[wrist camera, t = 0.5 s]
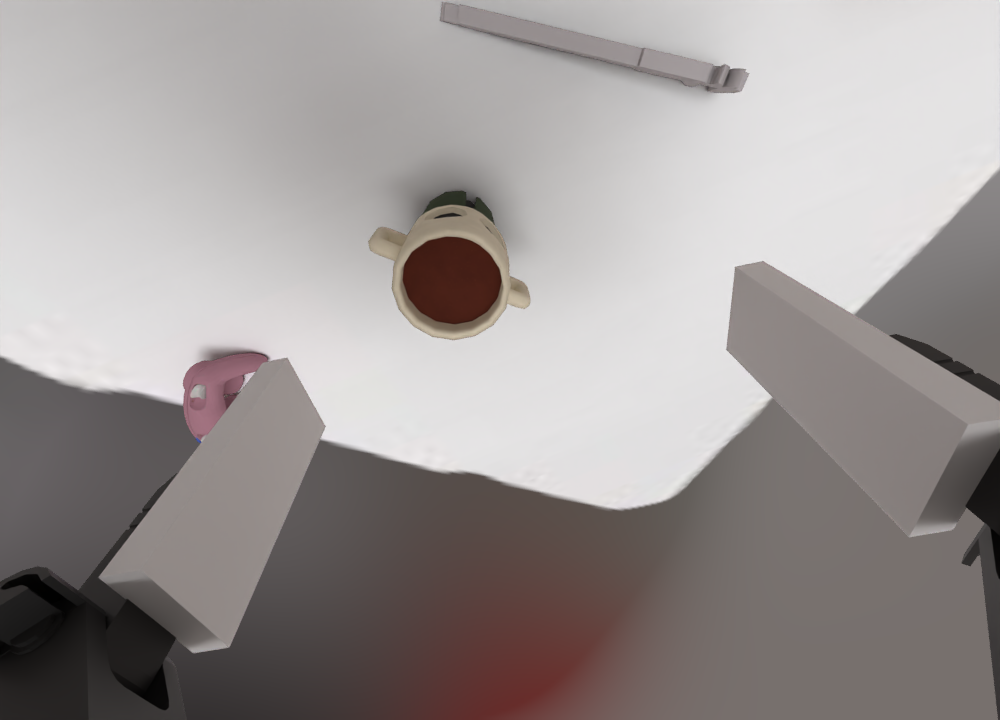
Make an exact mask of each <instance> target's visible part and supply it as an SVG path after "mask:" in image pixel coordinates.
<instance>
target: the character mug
mask: <svg viewBox="0 0 1000 720" xmlns="http://www.w3.org/2000/svg"><path fill="white" fill-rule="evenodd" d="M368 243H369V248H370V250H371V251H373V252H374V253H376V254H378V255H380V256H383V257H386V258H388V259H391V260H393V261H395V263H394V268H393V280H392V291H393V294H394V297H395V299H396V302H397V305H398V308H399V310H400V311H401V312H402V314H403V315H404V316H405V317H406V318H407V319H408V321H409V322H410V323H411V324H412V325H413V326H414V327H416V328H418V329H419V330H421V331H423V332H425V333H427V334H428V335H430V336H432V337H437V338H444V339H450V340H457V339H462V338H467V337H473V336H476V335H478V334H479V333H481V332H483V331H484V330H486V329H488V328H489V327H491V326H493V325H494V323H495V322H496V321H497V319H498V318H499V317H500V316H501V314H502V313H503V312H504V310H505V309H506V305H507V304H510V305H512V306H515V307H518V308H523V309H525V308H527V307H528V306H529V305H530V295H529V291H528V288H527V286H526V285H525V283H523V282H522V281H520V280H518V279H515V278H513V277H510V276H509V258H508V255H507V249H506V244H505V242H504V240H503V238H502V236H501V234H500V232H499V231H498V230H497V228H496V227H495V224H494V220H493V217H492V213H491V211H490V210H489V209H488V207H487V206H486V205H485V204H484V202H483V201H482V200H481V199H479V198H476V203H475V205H474V204H473V203H472V202H471V201H467V200H466V192H464V191H455V192H445V193H444V194H442V195H440V196H439V197H437V198H435V199H434V200H432V201H430V203H429V205H428V206H427V208H426V210H425V211H424V213H423V215H421V216H420V217H419V218H418V220H417V221H416V222H415V224H414V225H413V227H412V229H411V230H410V232H409V234H408V235H405V234H402V233H400V232H397V231H395V230H392V229H389V228H385V227H380V228H378V229H377V230H376V231H375V232H374V234H373V235H372V237H371V238H370V239H369V241H368Z"/></svg>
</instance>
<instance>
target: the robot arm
mask: <svg viewBox="0 0 1000 720" xmlns="http://www.w3.org/2000/svg"><path fill="white" fill-rule="evenodd" d="M726 350H727V351H728V352H729V353H730V354H731V355H732V356H733V357H734V358H735V359H736V360H737V361H738V362H739V363H740V364H741V365H742V366H743V367H744V368H745V369H746V370H747V371H748V372H749V373H750V374H751V375H752V376H753V377H754V378H755V379H756V381H757V382H758V383H759V384H760V385H761V386H762V387H763V388H764V389H765V390H766V391H767V392H768V393H769V394H770V395H771V396H772V397H773V398H774V399H775V400H776V401H777V402H778V403H779V404H780V405H781V406H782V407H783V408H784V409H785V410H786V411H787V412H788V413H789V414H790V415H791V416H792V417H793V418H794V419H795V421H796V422H797V423H798V424H799V425H800V426H801V427H802V428H803V429H804V430H805V431H806V432H807V433H808V434H809V435H810V436H811V437H812V438H813V439H814V440H815V441H816V442H817V443H818V444H819V445H820V446H821V447H822V448H823V449H824V450H825V451H826V452H827V453H828V454H829V455H830V456H831V457H832V458H833V460H834V461H835V462H836V463H837V464H838V465H839V466H840V467H841V468H842V469H843V470H844V471H845V472H846V473H847V474H848V475H849V476H850V477H851V478H852V479H853V480H854V481H855V482H856V483H857V484H858V485H859V486H860V487H861V488H862V489H863V490H864V491H865V492H866V493H867V494H868V495H869V496H870V497H871V499H872V500H873V501H875V503H876V504H877V505H878V506H879V507H880V508H881V509H882V510H883V511H884V512H885V513H886V514H887V515H888V516H889V517H890V518H891V519H892V520H893V521H894V522H895V523H896V524H897V525H898V526H899V527H900V528H901V529H902V530H903V531H904V532H905V533H906V534H907V535H908V536H909V537H913V536H919V535H925V534H931V533H937V532H943V531H949V530H953V529H954V527H955V526H956V524H957V522H958V521H959V519H960V517H961V516H962V514H963V512H964V511H965V509H966V508H968V509H969V510H970V511H971V512H972V513H974V514H975V515H976V516H977V517H978V518H980V519H981V520H982V521H983V522H984V523H985V524H984V525H983V527H982V528H981V530H980V531H979V533H978V534H977V536H976V537H975V539H974V540H973V542H972V543H971V545H970V546H969V548H968V549H967V551H966V552H965V554H964V557H963V560H962V564H965V565H968V566H971V564H972V563H973V561H974V560H975V559H976V557H977V556H979V555H980V557H981V566H982V576H983V585H984V594H985V603H986V611H987V621H988V630H989V639H990V649H991V658H992V667H993V676H994V686H995V694H996V704H997V712H998V720H1000V385H999V384H997V383H996V382H994V381H992V380H990V379H989V378H986V377H985V376H983V375H981V374H979V373H977V374H975V373H974V372H973V370H972V369H971V368H969V367H967V366H965V365H964V364H962V363H960V362H958V361H955V362H953V360H952V358H951V357H949V356H948V355H946V354H944V353H942V352H940V351H938V350H937V349H935V348H933V347H931V346H930V345H928V344H925V343H922V342H919V341H916V340H913V339H910V338H907V337H904V336H900V335H897V334H895V335H887V334H885V333H884V332H882V331H880V330H878V329H876V328H875V327H873V326H872V325H870V324H868V323H867V322H865V321H863V320H862V319H860V318H858V317H856V316H855V315H853V314H851V313H850V312H848V311H846V310H845V309H843V308H841V307H840V306H838V305H836V304H835V303H833V302H831V301H829V300H828V299H826V298H824V297H823V296H821V295H819V294H818V293H816V292H814V291H813V290H811V289H809V288H808V287H806V286H804V285H802V284H801V283H799V282H797V281H796V280H794V279H792V278H791V277H789V276H787V275H786V274H784V273H782V272H781V271H779V270H777V269H775V268H774V267H772V266H770V265H769V264H767V263H765V262H764V261H762V262H757V263H752V264H747V265H742V266H737V267H735V274H734V283H733V292H732V302H731V311H730V320H729V330H728V339H727V349H726ZM325 427H326V426H325V425H324V423H323V421H322V419H321V417H320V416H319V414H318V412H317V410H316V408H315V407H314V405H313V403H312V401H311V399H310V398H309V396H308V394H307V392H306V390H305V389H304V387H303V385H302V383H301V381H300V380H299V378H298V376H297V374H296V373H295V371H294V369H293V367H292V365H291V364H290V362H289V360H288V358H283V359H278V360H273V361H268V362H264V363H262V364H261V366H260V367H259V368H258V370H257V371H256V372H255V373H254V375H253V376H252V377H251V379H250V380H249V381H248V383H247V384H246V385H245V387H244V388H243V389H242V390H241V392H240V393H239V394H238V396H237V397H236V398H235V400H234V401H233V402H232V404H231V405H230V406H229V407H228V409H227V410H226V411H225V413H224V414H223V415H222V417H221V418H220V419H219V420H218V422H217V423H216V424H215V426H214V427H213V428H212V430H211V431H210V432H209V434H208V435H207V436H206V437H205V439H204V440H203V441H202V443H201V444H200V445H199V447H198V448H197V449H196V451H195V452H194V453H193V455H192V456H191V457H190V458H189V460H188V461H187V462H186V464H185V465H184V466H183V467H182V469H181V470H180V471H179V472H178V473H176V474H175V475H174V476H173V477H172V478H171V479H169V480H168V481H167V482H166V483H165V484H164V485H163V486H161V487H160V488H159V489H158V490H157V491H156V492H155V494H154V495H153V496H152V498H151V499H150V500H149V501H148V503H147V504H146V505H145V506H144V508H143V512H142V513H139V514H138V515H137V517H136V518H135V519H134V520H133V522H132V523H131V524H130V529H129V530H126V531H125V532H124V533H123V534H122V536H121V537H120V538H119V540H118V541H117V542H116V543H115V545H114V546H113V547H112V549H111V550H110V551H109V552H108V554H107V555H106V556H105V557H104V559H103V560H102V561H101V562H100V564H99V565H98V566H97V568H96V569H95V570H94V571H93V573H92V574H91V575H90V577H89V578H88V579H87V580H86V582H85V583H84V584H83V585H82V587H81V588H80V589H79V590H76V589H75V588H74V587H72V586H71V585H70V584H68V583H67V582H65V581H64V580H63V579H62V578H60V577H59V576H57V575H56V574H55V573H53V572H52V571H51V570H49V569H48V568H44V567H34V568H30V569H26V570H23V571H20V572H18V573H16V574H14V575H12V576H10V577H8V578H6V579H4V580H2V581H1V582H0V720H187V719H186V714H185V709H184V705H183V700H182V695H181V690H180V685H179V680H178V675H177V671H176V667H175V665H174V664H173V662H172V660H170V659H169V658H168V657H167V654H168V652H169V650H170V649H171V647H172V645H173V643H174V641H175V639H176V640H177V641H179V642H180V643H181V644H183V645H184V646H185V647H186V648H188V649H189V650H190V651H191V652H193V653H198V652H204V651H210V650H216V649H222V648H229V647H230V645H231V642H232V640H233V638H234V636H235V633H236V631H237V628H238V626H239V624H240V622H241V619H242V617H243V615H244V613H245V610H246V608H247V606H248V603H249V601H250V599H251V597H252V594H253V592H254V589H255V587H256V585H257V583H258V580H259V578H260V576H261V573H262V571H263V569H264V567H265V564H266V562H267V560H268V557H269V555H270V553H271V550H272V548H273V546H274V544H275V541H276V539H277V537H278V535H279V532H280V530H281V528H282V525H283V523H284V521H285V518H286V516H287V514H288V511H289V509H290V507H291V505H292V502H293V500H294V498H295V495H296V493H297V491H298V489H299V486H300V484H301V482H302V479H303V477H304V475H305V472H306V470H307V468H308V465H309V463H310V461H311V459H312V456H313V454H314V452H315V450H316V447H317V445H318V442H319V440H320V438H321V436H322V433H323V431H324V429H325Z"/></svg>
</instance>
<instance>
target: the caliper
mask: <svg viewBox="0 0 1000 720" xmlns="http://www.w3.org/2000/svg"><path fill="white" fill-rule="evenodd" d="M440 21H444V22H448V23H452V24H456V25H460V26H462V27H466V28H470V29H474V30H478V31H481V32H485V33H489V34H494V35H498V36H502V37H506V38H510V39H514V40H518V41H523V42H527V43H531V44H535V45H539V46H543V47H548V48H552V49H556V50H560V51H564V52H568V53H572V54H577V55H581V56H585V57H589V58H593V59H597V60H601V61H605V62H610V63H614V64H618V65H622V66H626V67H630V68H634V69H635V70H637V71H641V72H646V73H650V74H654V75H658V76H663V77H668V78H673V79H677V80H682V82H683V83H684V85H686V86H689V87H695V86H698V85H700V84H701V85H705V86H709V88H708V91H709V92H714V93H736V92H740V91H742V89H743V87H744V84H745V82H746V80H747V77H748V75H749V73H746V72H745V71H746V69H730V67H729V66H728V65H726V64H725V65H722V66H713V64H710V63H706V62H702V61H697V60H693V59H689V58H685V57H681V56H676V55H672V54H668V53H664V52H660V51H656V50H651V49H647V48H638V47H634V46H630V45H626V44H622V43H618V42H614V41H609V40H605V39H601V38H597V37H593V36H589V35H585V34H580V33H576V32H572V31H568V30H564V29H560V28H556V27H551V26H547V25H543V24H539V23H535V22H531V21H527V20H522V19H518V18H514V17H510V16H506V15H502V14H498V13H493V12H489V11H485V10H481V9H477V8H473V7H468V6H464V5H460V6H459V5H455V4H451V3H447V2H442V8H441V17H440Z"/></svg>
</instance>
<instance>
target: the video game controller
mask: <svg viewBox="0 0 1000 720" xmlns="http://www.w3.org/2000/svg"><path fill="white" fill-rule="evenodd" d="M264 362H268V360H267V358H266V357H265V356H263V355H260V354H254V353H245V354H236V355H231V356H227V357H223V358H220V359H216V360H213V361H202V362H199V363H196V364H195V365H193V366H192V367H191V368H190V369H189V370H188V371H187V373H186V375H185V377H184V380H183V386H184V389H185V393H184V403H183V406H184V415H185V419H186V422H187V425H188V427H189V429H190V431H191V433H192V434H193V435H194V436H195V438H196V440H197V441H198V442H199V443H202V441H203V440H204V439H205V437H206V436H207V435H208V434H209V432H210V431H211V430H212V428H213V427H214V426H215V424H216V423H217V422H218V420H219V419H220V418H221V417H222V415H223V414H224V413H225V411H226V410H227V409H228V407H229V406H230V405H231V404H232V402H233V401H234V400H235V398H236V397H237V395H230V394H233V393H235V392H237V391H238V390H239V389H240V388H241V386H242V384H243V376H242V375H245V374H248V373H252V372H255V371H257V370H258V368H259V367H260V366H261V364H262V363H264ZM224 394H227V395H230V396H228V397H226V398H225V399H224Z"/></svg>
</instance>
